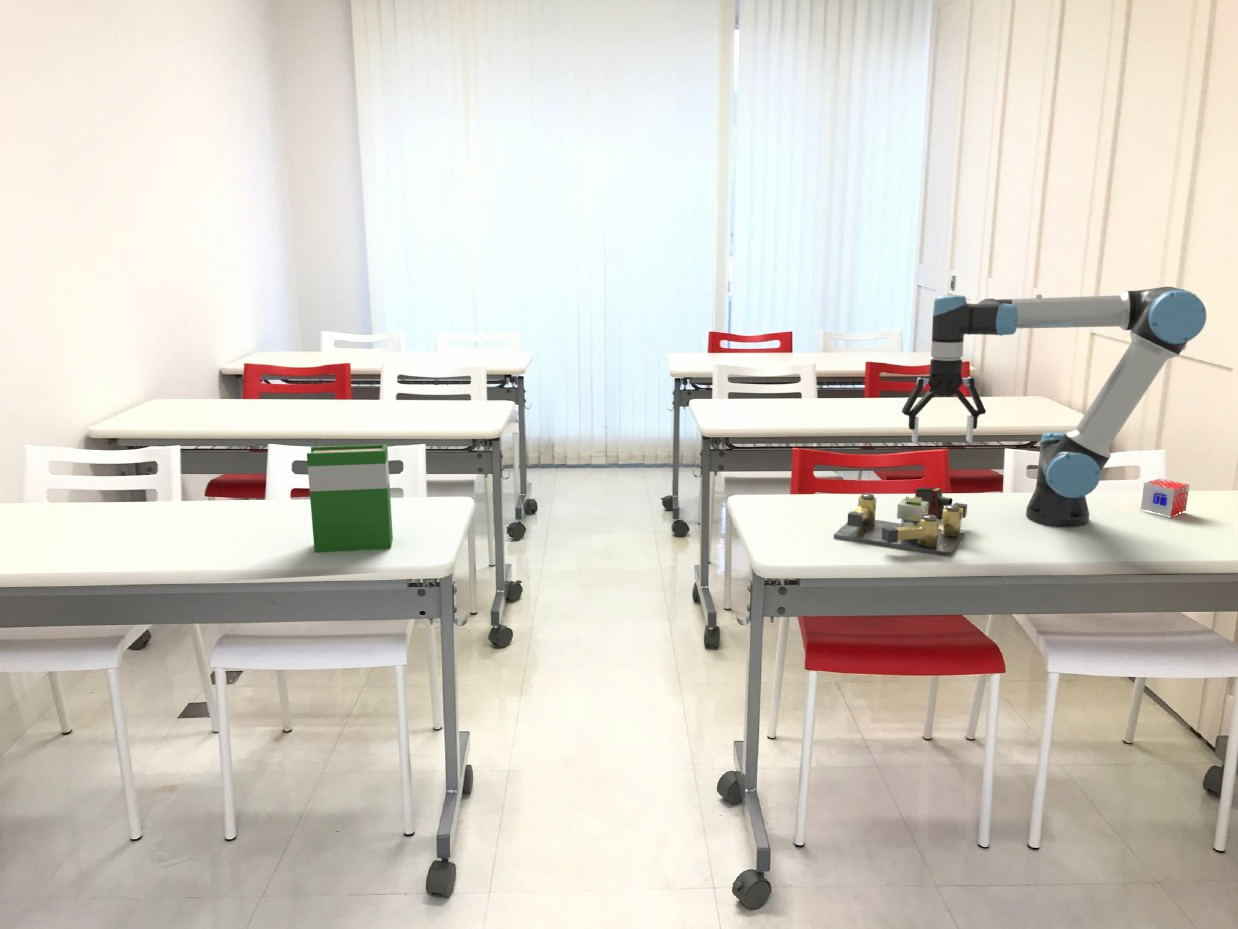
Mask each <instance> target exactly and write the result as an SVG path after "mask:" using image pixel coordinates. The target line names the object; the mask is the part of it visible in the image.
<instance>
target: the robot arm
mask: <svg viewBox="0 0 1238 929" xmlns="http://www.w3.org/2000/svg"><path fill="white" fill-rule="evenodd" d="M933 302H934V303H933V312H932V329H931V330H932V331H931V350H930V357H932V358H931V359H930V364H929V367H930V368H929V376H928V378H922V377H920V376H918V377H917V378H916V381H915V385H914V388H913V389H912V391H911V393H910V395H909V396H908V399H907V400H906V401H905V403H904V405H903V407H902V409H901V413H902V414H903V415H904V416H908V429H909V430H912V431H911V442H912V443H914V444H917V443H918V436H919V421H920V420H919V417H918V416H917V415H918V414H919V413H921V411H922V410H923V409H924V408H925V407H926V406H927V404H928V403H929V402H930V401H931V400H932V399H934V398H935V396H939V397H943V396H949V397H952V396H953V395H954V396H956V398H957V399H958V400H959V401H960V402H961V404H962V405H963V407H965V409H966V410H967V411H968V412H969V413H970V414H967V417H966V431H965V432H966V433H965V434H966V436H965V441H966V442H968V443H973V433H974V430H977V428H978V417H980V415H985V414H986V412H987V411H986V409H985V406H984V404H983V402H982V399H981V398H980V395H979V393H978V389H977V388H976V384H975V378H974V377H971V375H970V376H967V377H962V373H963V360H962V359H961V358H962V357H963V356H964V355H963V354H964V340H965V335H983V336H985V335H987V336H1000V337H1003V336H1010V335H1011V336H1013V335H1014V334H1016V332H1017V329H1051V328H1052V329H1058V328H1059V329H1062V328H1105V327H1106V328H1110V327H1115V328H1118V327H1119V328H1121V330H1123V331H1129V335H1130V339H1131V342H1130V344H1129V346H1128V347H1127V349H1126V351H1125V352H1124V354H1123V355H1122V357H1121V358H1120V359H1119V361H1118V363H1117V364H1116V366H1115V367H1114V368H1113V370H1112V372H1111V374H1110V375H1109V376H1108V378H1107V380H1106V381H1105V383H1104V384H1103V386H1102V388H1101V389H1100V390H1099V392H1098V394H1097V395H1096V396H1095V398H1094V400H1093V402H1092V403H1091V405H1090V406H1089V407H1088V409H1087V410H1086V412H1085V413H1084V415H1083V417H1082V418H1081V420H1080V422H1078V425H1077V426H1076V427H1075V428H1074V429H1071V430H1069V431H1065V432H1064V431H1062V432H1061V431H1047V432H1043V433H1042V434H1041V440H1040V441H1039V446H1040V448H1039V458H1038V465H1037V473H1036V486H1035V490H1034V492H1033V493H1032V495H1031V497H1030V499H1029V502H1028V504H1027V506H1026V510H1025V511H1026V512H1025V516H1026V518H1027V519H1029V520H1031V521H1033V522H1036V523H1039V524H1042V525H1046V526H1047V525H1048V526H1054V527H1061V528H1062V527H1063V528H1068V527H1069V528H1075V527H1082V526H1085V525H1087V524H1089V521H1090V510H1089V507H1088V506H1089V505H1088V502H1087V498H1086V496H1087V495H1089V494H1091V493H1092V492H1093V491H1094V490H1096V488H1097V487H1098V485H1099V482H1100V479H1101V474H1102V473H1101V472H1102V470H1103V469H1104V467H1105V466H1106V464H1107V463H1108V461H1109V459H1110V458H1111V452H1110V446H1111V445H1112V443H1113V441H1114V440H1115V438H1116V437H1117V436H1118V434H1120V431H1121V430H1122V428H1123V426H1124V425H1125V424H1126V422H1127V421H1128V419H1129V418H1130V416H1131V414H1132V413H1133V412H1134V410H1135V408H1136V407H1137V406H1138V404H1139V402H1140V401H1141V400H1142V398H1143V397H1144V395H1145V393H1146V392H1147V391H1148V390H1149V387H1150V386H1151V384H1152V383H1153V382H1154V380H1155V378H1156V377H1157V376H1158V375H1159V372H1161V369H1162V368H1163V367H1164V365H1165V363H1166V362H1167V361H1168V360H1169V359H1172V358H1176V357H1178V356H1180V353H1181V352H1182V351H1183V349H1184V348H1185V347H1186V345H1187V344H1188V342H1191V341H1192V340H1193V339H1195V338H1196V337H1198V335H1199V334H1200V333H1201V332H1202V330H1203V329H1204V327H1205V325H1206V322H1207V309H1206V307H1205V304H1204V302H1203V301H1202V300H1201V299H1200V298H1199V297H1198V295H1196V294H1194V293H1193V292H1192V291H1190V290H1187V289H1182V288H1179V287H1178V288H1177V287H1174V286H1162V287H1155V288H1154V287H1153V288H1147V289H1140V290H1139V289H1138V290H1137V289H1136V290H1125V291H1124V292H1122V294H1120V295H1093V296H1091V295H1090V296H1068V297H1067V296H1065V297H1062V296H1061V297H1060V296H1059V297H1037V298H1036V297H1035V298H1034V297H1032V298H1031V297H1030V298H1011V299H1010V298H1009V299H1008V298H1005V299H1000V298H999V299H995V298H984V299H982V300H980V301H979V302H978V303H970V302H969V303H968V302H967V298H966V296H965V295H961V294H959V295H958V294H957V295H956V294H944V295H943V294H942V295H938V296H936V297H935V298H934V301H933ZM927 384H928V386H929V389H928V390H927V391H926V392H925V394H924V395H922V398H920V399H919V400H918V402H916V401H917V399H918V398H919V395H921V392H922V390H923V388H925V387H926V385H927ZM963 384H964V386H966V387H967V389H968V392H969V393H970V396H971V398H972V400H973V402H974V403H973V404H974V405H975V407H976V408H975V407H974V406H973V405H972V404H971V402H970V401H969V399H967V398H966V396H965V395H964V393H963V392H962V391H961V389H960V388H961V386H962V385H963ZM915 403H916V404H915ZM914 404H915V405H914Z"/></svg>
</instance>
